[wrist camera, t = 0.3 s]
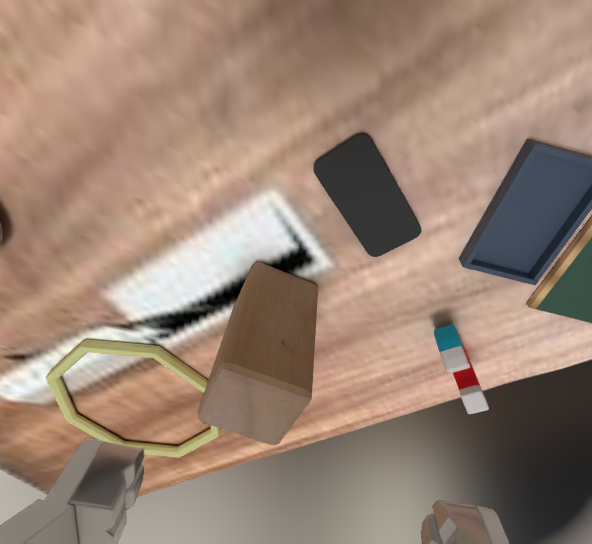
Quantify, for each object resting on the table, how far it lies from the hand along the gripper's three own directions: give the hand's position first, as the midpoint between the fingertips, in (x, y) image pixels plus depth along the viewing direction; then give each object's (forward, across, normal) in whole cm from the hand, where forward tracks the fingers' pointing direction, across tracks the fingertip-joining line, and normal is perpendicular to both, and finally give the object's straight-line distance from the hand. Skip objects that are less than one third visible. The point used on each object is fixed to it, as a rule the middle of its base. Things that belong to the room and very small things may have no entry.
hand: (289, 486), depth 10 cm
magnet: (+41, -26, +21) cm, 53 cm away
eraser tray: (+39, -27, 0) cm, 47 cm away
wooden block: (+41, +1, +20) cm, 46 cm away
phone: (+39, -8, +2) cm, 40 cm away
